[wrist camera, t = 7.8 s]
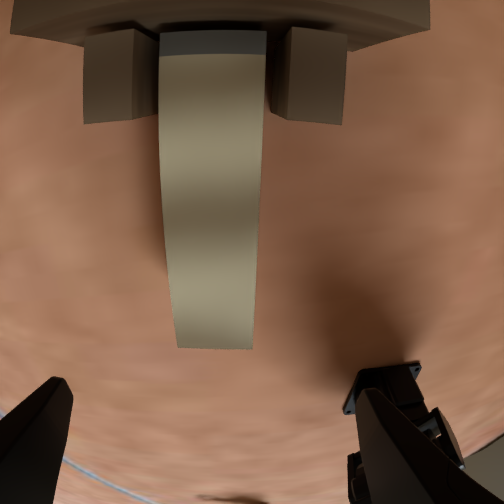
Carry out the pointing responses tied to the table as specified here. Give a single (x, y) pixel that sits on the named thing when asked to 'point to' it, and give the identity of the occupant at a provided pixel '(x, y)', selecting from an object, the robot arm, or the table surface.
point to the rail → (211, 180)
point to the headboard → (217, 18)
